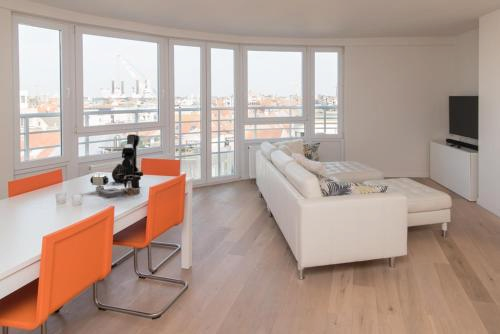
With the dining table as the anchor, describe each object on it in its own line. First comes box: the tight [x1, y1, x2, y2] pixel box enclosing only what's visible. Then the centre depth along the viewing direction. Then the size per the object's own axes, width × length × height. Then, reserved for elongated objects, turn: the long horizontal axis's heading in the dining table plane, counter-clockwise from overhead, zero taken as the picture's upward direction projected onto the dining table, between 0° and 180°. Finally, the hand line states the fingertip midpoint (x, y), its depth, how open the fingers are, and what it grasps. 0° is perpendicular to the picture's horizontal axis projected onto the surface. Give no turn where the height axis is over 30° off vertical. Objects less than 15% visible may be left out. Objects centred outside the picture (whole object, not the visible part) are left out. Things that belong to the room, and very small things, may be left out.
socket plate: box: [97, 187, 126, 199], centre depth 298 cm, size 12×14×3 cm
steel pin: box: [127, 181, 132, 190], centre depth 302 cm, size 2×2×8 cm
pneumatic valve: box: [89, 173, 109, 192], centre depth 310 cm, size 6×12×12 cm, turn 84°
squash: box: [111, 163, 129, 183], centre depth 344 cm, size 14×15×15 cm
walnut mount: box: [120, 187, 140, 196], centre depth 302 cm, size 9×10×3 cm
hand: (129, 187), depth 302 cm, fingers open, 6 cm apart
